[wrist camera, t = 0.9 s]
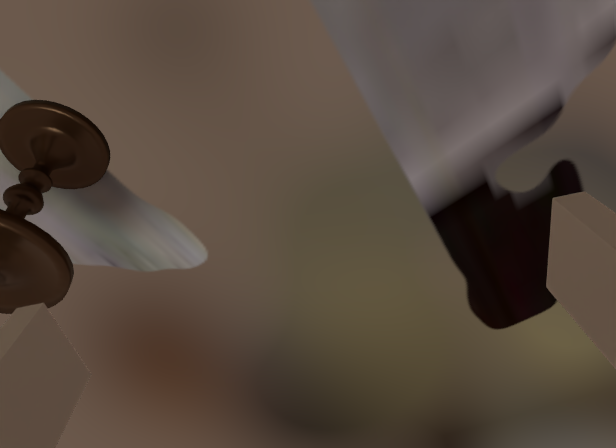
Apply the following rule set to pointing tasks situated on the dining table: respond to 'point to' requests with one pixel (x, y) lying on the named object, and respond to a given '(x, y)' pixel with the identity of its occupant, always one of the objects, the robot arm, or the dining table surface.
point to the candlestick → (28, 196)
